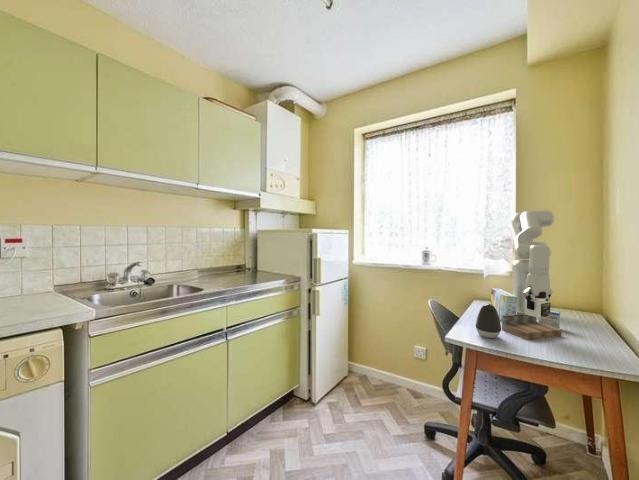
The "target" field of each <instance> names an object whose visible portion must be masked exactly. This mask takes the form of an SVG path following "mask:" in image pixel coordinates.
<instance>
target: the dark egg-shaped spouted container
mask: <svg viewBox="0 0 639 480" xmlns="http://www.w3.org/2000/svg"><path fill="white" fill-rule="evenodd" d="M475 329H476V331H477V333H478V335H480V336H481V337H483V338H487V339H495V338H497V337H498V336H499V335H500V333H501V331H502V323H501V320H500V319H499V315H498V312H497V310H496V308H495V307H494V306H493V305H491V303H485V304H483V305H482V306H481V307H480V309H479V312H478V314H477V317H476V320H475Z"/></svg>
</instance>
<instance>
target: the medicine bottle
mask: <svg viewBox="0 0 639 480" xmlns="http://www.w3.org/2000/svg"><path fill="white" fill-rule="evenodd" d="M531 294H533V293H531ZM530 297H531V298H532V296H530ZM545 300H546V292H540V293H539V295H538V296H535V298H534V302H535V303H534V310H531V309H527V300H525V314H526V315H529V316H533V317H537V318H536V319H539V318H546V317H550V311H551V301H550V300H548V301H545Z"/></svg>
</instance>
